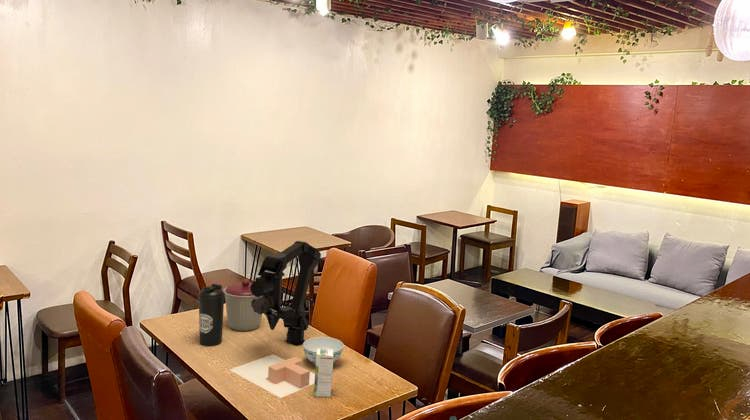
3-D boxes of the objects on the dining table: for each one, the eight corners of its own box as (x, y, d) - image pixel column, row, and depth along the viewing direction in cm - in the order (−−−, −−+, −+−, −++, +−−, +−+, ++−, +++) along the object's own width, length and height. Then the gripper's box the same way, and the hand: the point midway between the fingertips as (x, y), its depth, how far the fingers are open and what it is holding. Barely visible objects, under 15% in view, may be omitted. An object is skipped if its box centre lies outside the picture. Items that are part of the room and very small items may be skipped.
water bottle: (191, 343, 221) (192, 287, 217) (208, 335, 230) (209, 280, 227) (213, 349, 217) (214, 291, 214) (229, 340, 227) (230, 285, 223)
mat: (272, 355, 215) (273, 354, 215) (324, 380, 198) (325, 378, 197) (228, 371, 200) (228, 369, 200) (280, 399, 182) (280, 397, 182)
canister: (238, 316, 254) (239, 271, 250) (273, 323, 248) (275, 277, 244) (213, 329, 237) (214, 281, 234) (251, 337, 231) (252, 288, 228)
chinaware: (293, 364, 209) (294, 344, 208) (321, 352, 221) (322, 333, 220) (323, 377, 200) (324, 356, 199) (350, 364, 212) (351, 344, 211)
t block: (294, 369, 203) (295, 356, 202) (317, 381, 195) (318, 367, 195) (268, 380, 194) (268, 366, 193) (291, 392, 186) (291, 378, 185)
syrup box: (314, 388, 191) (315, 348, 189) (331, 389, 191) (333, 348, 189) (313, 397, 185) (315, 355, 183) (331, 397, 186) (333, 355, 184)
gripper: (240, 288, 209) (239, 328, 212) (273, 300, 198) (272, 342, 200) (263, 282, 218) (262, 320, 221) (296, 294, 206) (295, 334, 209)
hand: (272, 329), depth 212 cm, fingers closed
